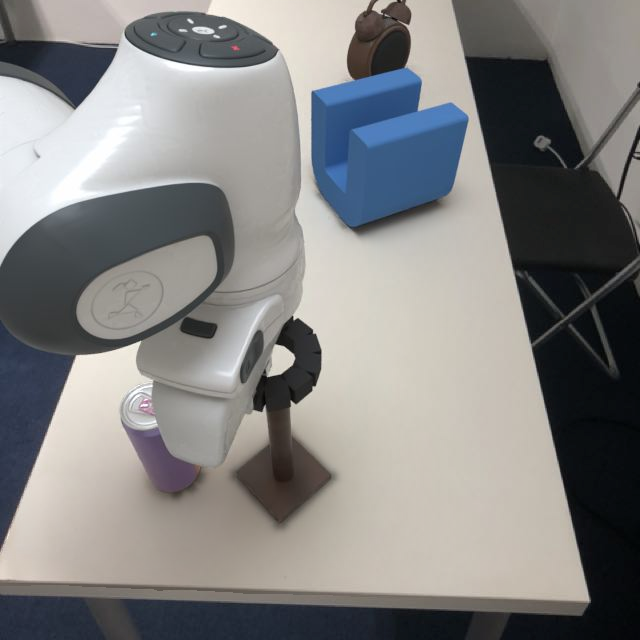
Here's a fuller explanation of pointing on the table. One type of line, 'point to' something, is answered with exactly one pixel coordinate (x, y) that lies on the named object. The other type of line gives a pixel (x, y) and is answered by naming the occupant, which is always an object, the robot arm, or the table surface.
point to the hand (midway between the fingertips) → (252, 388)
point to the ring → (292, 369)
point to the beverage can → (153, 442)
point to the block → (383, 146)
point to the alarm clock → (380, 41)
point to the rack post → (282, 469)
